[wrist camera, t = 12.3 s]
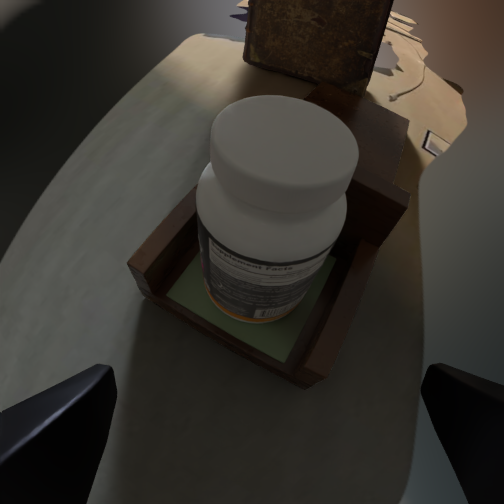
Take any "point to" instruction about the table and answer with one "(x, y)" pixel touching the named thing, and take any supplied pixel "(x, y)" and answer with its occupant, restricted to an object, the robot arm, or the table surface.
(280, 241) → the pill bottle
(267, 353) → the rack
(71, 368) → the table surface
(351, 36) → the book
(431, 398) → the robot arm
